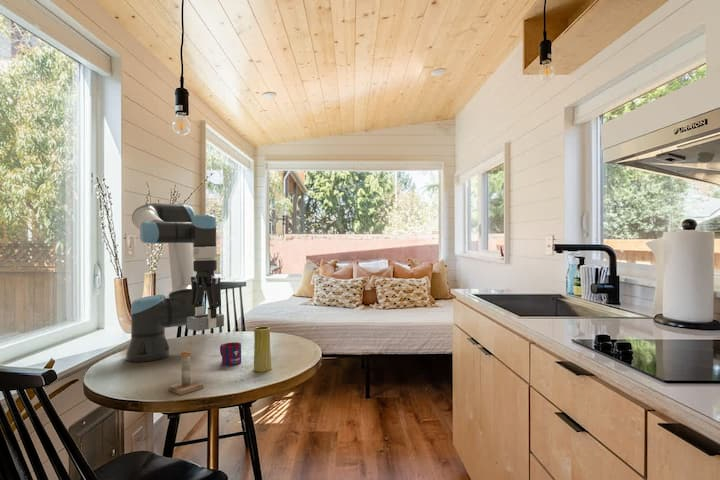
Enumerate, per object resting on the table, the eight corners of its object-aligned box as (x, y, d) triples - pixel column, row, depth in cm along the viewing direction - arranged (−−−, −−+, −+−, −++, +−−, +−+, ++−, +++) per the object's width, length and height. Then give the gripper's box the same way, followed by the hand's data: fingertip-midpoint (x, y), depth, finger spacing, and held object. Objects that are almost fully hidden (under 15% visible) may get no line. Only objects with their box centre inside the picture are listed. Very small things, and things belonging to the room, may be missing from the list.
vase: (250, 369, 142) (249, 328, 142) (265, 365, 147) (265, 325, 147) (259, 373, 138) (258, 330, 138) (275, 369, 142) (274, 327, 142)
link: (186, 329, 140) (186, 317, 140) (212, 324, 148) (212, 313, 148) (198, 331, 136) (198, 318, 136) (223, 326, 144) (223, 314, 144)
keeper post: (168, 390, 123) (168, 353, 123) (190, 383, 129) (189, 348, 129) (181, 394, 119) (181, 356, 119) (203, 387, 124) (203, 351, 125)
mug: (227, 367, 146) (227, 347, 146) (214, 361, 153) (214, 343, 153) (244, 363, 150) (244, 344, 150) (231, 358, 157) (230, 340, 157)
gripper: (179, 259, 145) (179, 325, 144) (212, 260, 133) (213, 331, 133) (198, 259, 151) (198, 322, 151) (232, 259, 140) (232, 327, 139)
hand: (205, 326), depth 142 cm, fingers closed on link, 6 cm apart
